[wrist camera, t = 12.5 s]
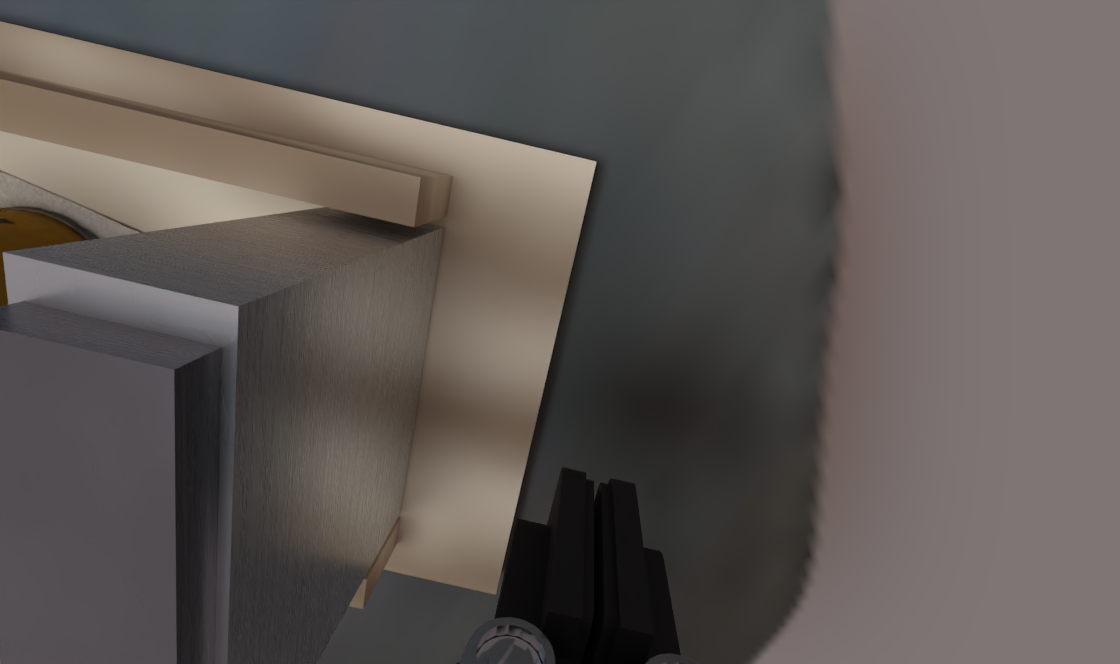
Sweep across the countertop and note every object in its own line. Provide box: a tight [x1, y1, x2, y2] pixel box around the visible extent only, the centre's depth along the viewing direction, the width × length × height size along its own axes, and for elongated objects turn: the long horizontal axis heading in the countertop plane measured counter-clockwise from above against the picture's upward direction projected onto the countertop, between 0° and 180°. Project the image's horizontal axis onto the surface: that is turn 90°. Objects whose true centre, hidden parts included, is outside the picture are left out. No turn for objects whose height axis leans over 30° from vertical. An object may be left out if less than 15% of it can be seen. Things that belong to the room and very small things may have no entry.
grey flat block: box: [0, 207, 444, 664], centre depth 12 cm, size 10×3×10 cm, turn 167°
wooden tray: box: [0, 21, 596, 609], centre depth 16 cm, size 16×24×4 cm, turn 77°
